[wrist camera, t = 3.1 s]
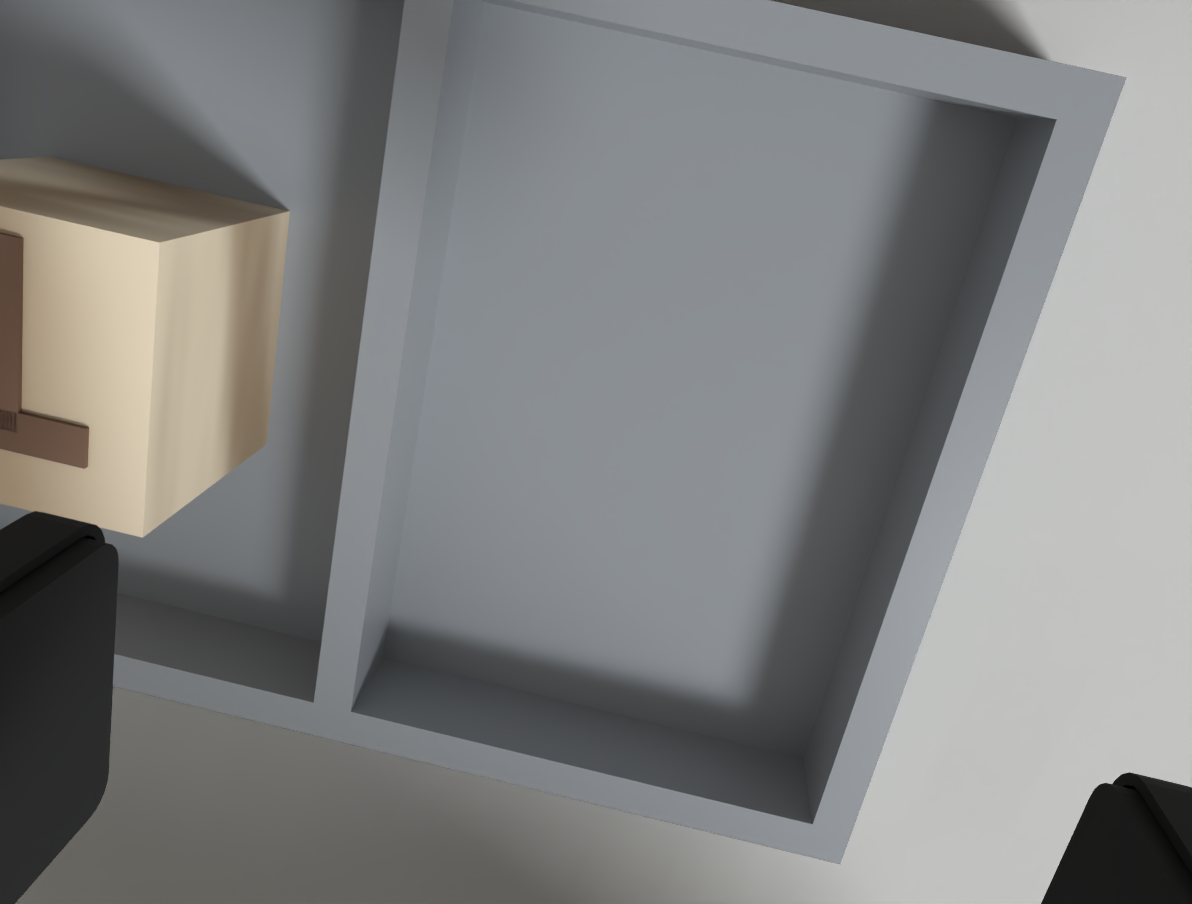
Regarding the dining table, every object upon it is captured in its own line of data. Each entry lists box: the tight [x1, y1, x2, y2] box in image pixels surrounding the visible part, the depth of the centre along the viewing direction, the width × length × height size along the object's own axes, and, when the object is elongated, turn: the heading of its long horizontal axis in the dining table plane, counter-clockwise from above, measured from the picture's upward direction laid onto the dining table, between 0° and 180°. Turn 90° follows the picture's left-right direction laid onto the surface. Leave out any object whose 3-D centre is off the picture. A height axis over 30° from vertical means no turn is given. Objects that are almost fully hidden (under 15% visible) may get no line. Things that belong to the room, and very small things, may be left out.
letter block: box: [0, 156, 290, 538], centre depth 18 cm, size 5×5×5 cm
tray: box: [0, 0, 1126, 864], centre depth 20 cm, size 22×16×3 cm
